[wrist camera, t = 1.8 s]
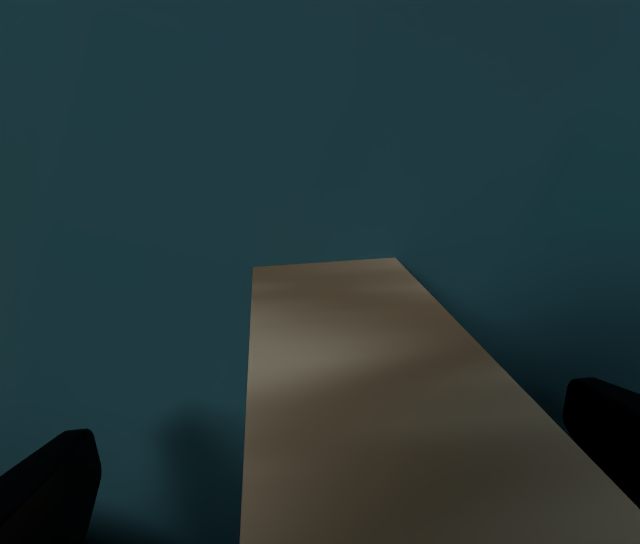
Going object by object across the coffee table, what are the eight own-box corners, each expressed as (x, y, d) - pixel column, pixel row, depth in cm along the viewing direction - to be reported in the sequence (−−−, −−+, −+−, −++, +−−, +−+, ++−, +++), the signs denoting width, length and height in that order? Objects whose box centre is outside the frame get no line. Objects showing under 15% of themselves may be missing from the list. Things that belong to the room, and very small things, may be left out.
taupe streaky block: (395, 257, 9) (943, 821, 2) (388, 447, 11) (665, 1150, 4) (253, 267, 9) (217, 1004, 2) (269, 461, 11) (289, 1273, 3)
